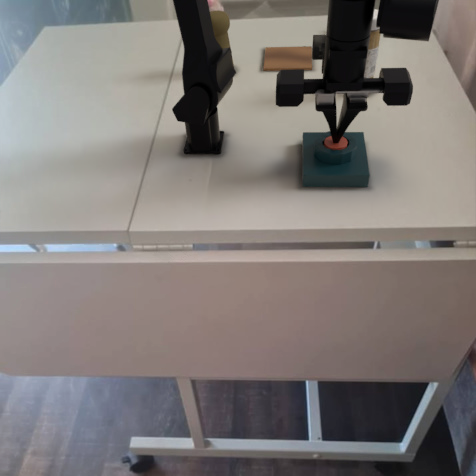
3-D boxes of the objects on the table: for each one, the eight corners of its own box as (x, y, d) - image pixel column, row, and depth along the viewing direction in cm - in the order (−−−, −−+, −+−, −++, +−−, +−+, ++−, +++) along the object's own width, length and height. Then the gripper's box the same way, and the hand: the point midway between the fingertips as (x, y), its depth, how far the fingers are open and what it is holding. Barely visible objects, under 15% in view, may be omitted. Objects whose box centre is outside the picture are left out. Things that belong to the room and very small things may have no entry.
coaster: (311, 70, 98) (312, 67, 98) (263, 70, 99) (263, 68, 99) (311, 48, 104) (311, 46, 104) (265, 49, 105) (265, 47, 105)
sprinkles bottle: (358, 83, 94) (369, 5, 83) (376, 91, 92) (390, 12, 81) (342, 91, 92) (352, 13, 82) (360, 99, 90) (372, 20, 79)
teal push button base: (367, 187, 74) (371, 164, 71) (302, 187, 75) (303, 164, 72) (361, 143, 81) (365, 121, 78) (302, 143, 82) (303, 122, 79)
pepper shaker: (222, 81, 97) (218, 21, 89) (200, 74, 100) (193, 15, 91) (240, 69, 100) (237, 10, 92) (218, 62, 103) (213, 4, 94)
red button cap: (346, 158, 75) (348, 148, 73) (323, 158, 75) (324, 148, 74) (345, 145, 77) (346, 135, 76) (322, 145, 77) (323, 135, 76)
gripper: (413, 7, 66) (390, 114, 79) (278, 10, 68) (277, 114, 80) (425, 41, 60) (399, 152, 72) (276, 44, 61) (275, 152, 74)
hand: (335, 141), depth 75 cm, fingers closed, pressing on red button cap
